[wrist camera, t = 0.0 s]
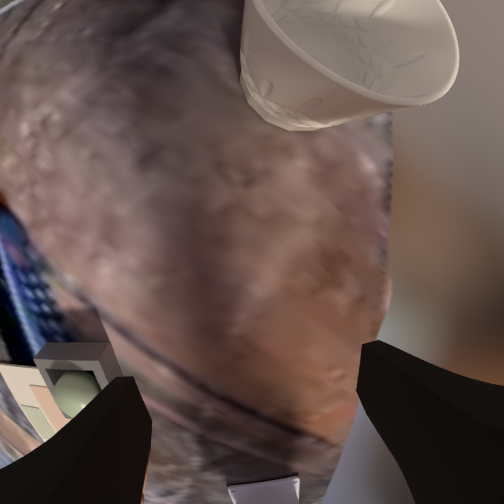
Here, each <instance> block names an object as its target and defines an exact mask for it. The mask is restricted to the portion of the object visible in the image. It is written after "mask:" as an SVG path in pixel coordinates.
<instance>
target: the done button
mask: <svg viewBox="0 0 504 504" xmlns="http://www.w3.org/2000/svg"><path fill="white" fill-rule="evenodd" d="M101 390H102V389H101V387H100V385H99V383H98V381H97V380H96V379H95V378H94V377H93V376H92V375H91V374H89V373H87V372H86V371H83V370H65V371H64V372H63V374H62V375H61V377H60V379H59V380H58V382H57V383H56V385H55V386H54V388H53V390H52V396H53V399H54V401H55V403H56V404H57V406H58V407H59V408H60V409H61V410H62V411H63V412H64V413H66V414H67V415H69V416H70V417H72V418H74V417H75V416H76V415H77V414H78V413H79V412H80V411H81V410H82V409H83V408H84V407H85V406H86V405H87V404H88V403H89V402H90V401H91V400H92V399H93V398H94V397H95V396H96V395H97V394H98V393H99V392H100V391H101Z"/></svg>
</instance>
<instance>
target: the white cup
mask: <svg viewBox="0 0 504 504" xmlns="http://www.w3.org/2000/svg"><path fill="white" fill-rule="evenodd" d="M240 62H241V75H240V83H241V86H242V89H243V91H244V94H245V97H246V100H247V103H248V104H249V105H250V106H251V107H252V108H253V109H254V110H255V111H256V112H257V113H258V114H259V115H260V116H261V117H262V118H263V119H264V120H265V121H266V122H269V123H271V124H274V125H276V126H279V127H281V128H284V129H286V130H288V131H314V130H317V129H320V128H323V127H329V126H335V125H339V124H343V123H347V122H352V121H356V120H360V119H364V118H368V117H371V116H375V115H379V114H383V113H387V112H391V111H395V110H399V109H404V108H409V107H414V106H419V105H424V104H427V103H430V102H433V101H435V100H437V99H439V98H440V97H442V96H443V95H444V94H445V93H446V92H447V91H448V90H449V89H450V88H451V86H452V84H453V83H454V80H455V78H456V76H457V72H458V67H459V47H458V42H457V38H456V34H455V31H454V28H453V25H452V23H451V20H450V18H449V16H448V14H447V12H446V10H445V8H444V7H443V5H442V4H441V2H440V1H439V0H245V1H244V11H243V20H242V30H241V48H240Z"/></svg>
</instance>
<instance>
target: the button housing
mask: <svg viewBox="0 0 504 504" xmlns="http://www.w3.org/2000/svg"><path fill="white" fill-rule="evenodd" d="M33 359H34V362H35V364H36V366H37V368H38V370H39V372H40V374H41V376H42V378H43V380H44V382H45V384H46V386H47V387H48V389H49V391H50V393H51V395H52V390H53V388H54V386H55V385H56V383H57V382H58V380H59V379H60V377H61V375H62V374H63V372H64V371H65V370H93V372H94V374H95V376H96V379H97V381H98V383H99V385H100V387H101V389H103V388H104V387H105V386H106V385H108V384H109V383H110V382H111V381H112V380H113V379H114V378H115V377H123V375H122V372H121V370H120V367H119V365H118V362H117V360H116V357H115V354H114V351H113V349H112V346H111V343H110V341H105V342H47V343H46V344H45V346H44V347H43V348H42V349H41V350H40V351H39V353H38V354H37V355H36V356H35V357H34V358H33ZM52 397H53V396H52ZM59 409H60V408H59ZM60 410H61V409H60ZM61 412H62V414H63V415H64V417H65V418H67V419H73V418H72V417H70V416H69V415H67V414H66V413H64V412H63V411H62V410H61Z"/></svg>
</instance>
